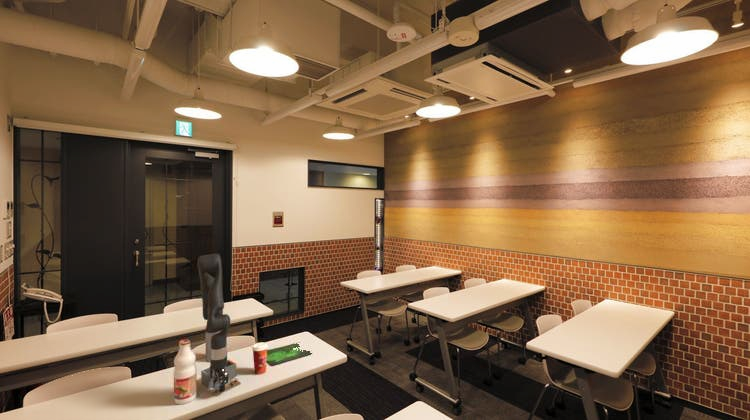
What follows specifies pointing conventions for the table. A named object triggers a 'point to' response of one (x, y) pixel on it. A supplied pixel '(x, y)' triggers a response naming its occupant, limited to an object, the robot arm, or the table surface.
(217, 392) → the walnut seat rail
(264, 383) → the table surface
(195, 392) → the fruit juice
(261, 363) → the coffee cup
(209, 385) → the tube
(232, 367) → the tube
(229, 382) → the card
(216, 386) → the blue ball
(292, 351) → the mouse mat
